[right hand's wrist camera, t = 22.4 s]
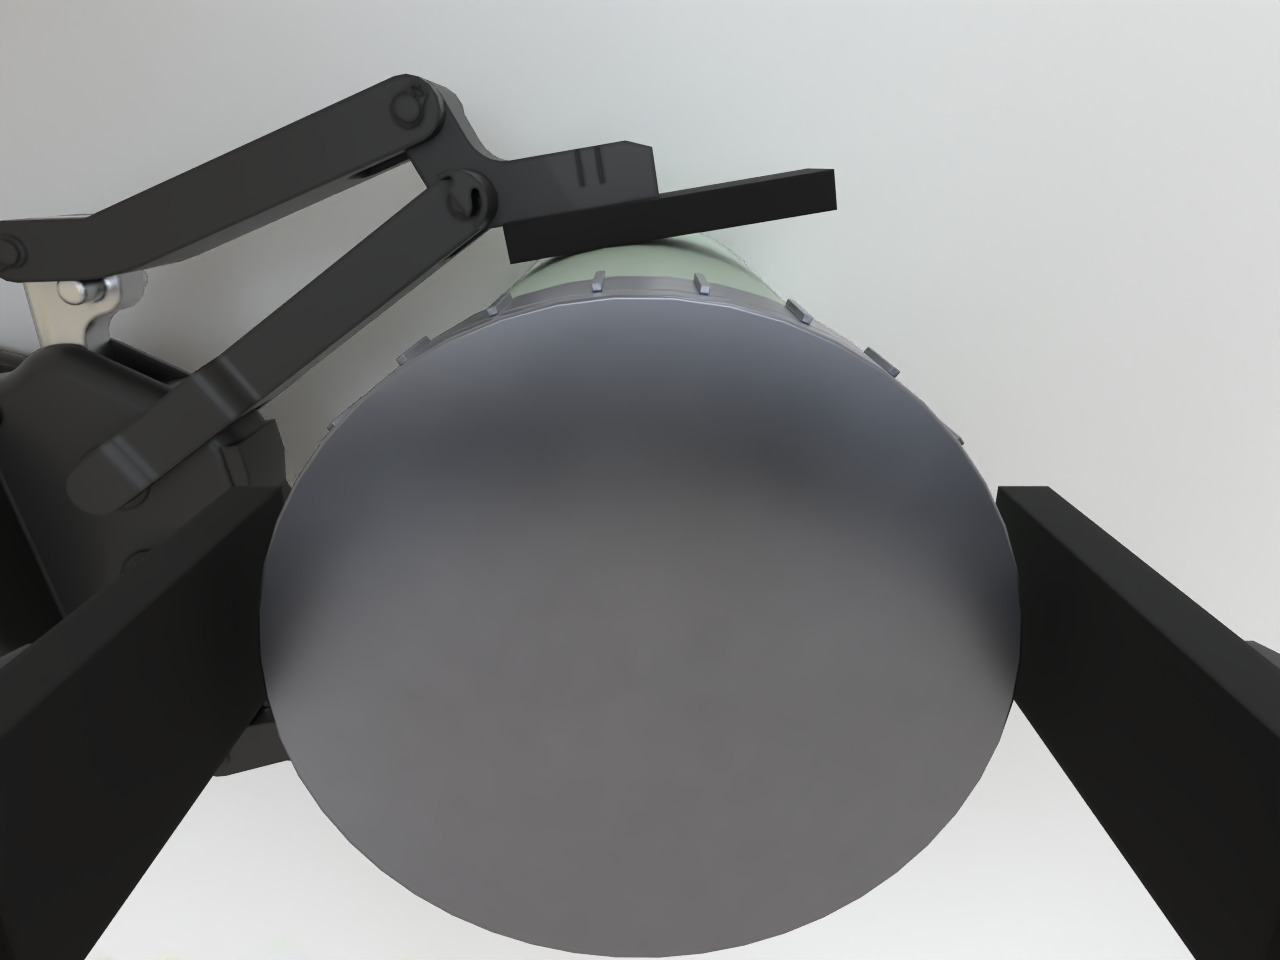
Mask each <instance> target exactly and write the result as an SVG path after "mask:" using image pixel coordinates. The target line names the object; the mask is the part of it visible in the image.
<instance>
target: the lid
mask: <svg viewBox="0 0 1280 960" xmlns="http://www.w3.org/2000/svg"><path fill="white" fill-rule="evenodd" d="M396 361H397V362H398V363H399V364H400V366H399V367H398V368H397V369H395V370H394V371H393V372H392V373H391V374H389V375H388V376H387V377H386V378H385V379H383V380H382V381H381V382H380V383H379V384H377V385H376V386H375V387H374V388H373V389H371V390H370V391H369V392H368V393H367V394H366V395H364V396H363V397H361V398H360V399H358V400H357V401H356V402H355V403H354V404H352V405H351V406H350V407H349V408H348V409H346V410H345V411H344V412H343V413H342V414H340V415H339V416H338V417H337V418H336V419H334V420H333V421H332V422H331V423H330V424H329V426H328V427H327V429H328V430H329V431H330V432H329V433H328V434H327V435H326V436H325V437H324V439H323V440H322V442H321V443H320V445H319V446H318V448H317V449H316V451H315V452H314V454H313V455H312V457H311V458H310V460H309V461H308V463H307V464H306V466H305V467H304V468H303V470H302V471H301V473H300V474H299V476H298V477H297V479H296V481H295V483H294V485H293V488H292V490H291V492H290V494H289V496H288V498H287V500H286V501H285V504H284V507H283V509H282V511H281V513H280V515H279V517H278V519H277V522H276V525H275V528H274V532H273V535H272V539H271V542H270V545H269V549H268V552H267V555H266V559H265V562H264V566H263V574H262V581H261V589H260V596H259V604H258V644H259V659H260V665H261V671H262V676H263V682H264V688H265V693H266V698H267V701H268V704H269V707H270V710H271V713H272V716H273V719H274V722H275V725H276V728H277V731H278V735H279V738H280V740H281V742H282V744H283V746H284V748H285V750H286V752H287V754H288V756H289V758H290V760H291V762H292V764H293V766H294V768H295V770H296V772H297V774H298V776H299V777H300V779H301V780H302V782H303V783H304V785H305V786H306V788H307V789H308V791H309V792H310V794H311V795H312V797H313V798H314V800H315V801H316V803H317V804H318V806H319V807H320V809H321V810H322V811H323V812H324V814H325V815H326V816H327V817H328V818H329V819H330V820H331V822H332V823H333V824H334V825H335V826H336V827H337V828H338V830H339V831H340V832H341V833H342V834H343V835H344V836H345V838H346V839H347V840H348V841H349V842H350V843H351V844H352V845H353V846H354V847H356V848H357V849H358V850H359V851H360V852H361V853H362V854H363V855H364V856H366V857H367V858H368V859H369V860H370V861H371V862H372V863H373V864H374V865H376V866H377V867H378V868H379V869H380V870H381V871H383V872H384V873H385V874H387V875H388V876H390V877H391V878H393V879H394V880H395V881H397V882H398V883H400V884H401V885H402V886H404V887H405V888H407V889H408V890H409V891H411V892H412V893H414V894H415V895H417V896H419V897H420V898H422V899H424V900H426V901H428V902H429V903H431V904H433V905H435V906H437V907H438V908H440V909H442V910H444V911H446V912H447V913H449V914H451V915H453V916H455V917H458V918H460V919H462V920H465V921H467V922H470V923H472V924H474V925H477V926H479V927H481V928H484V929H486V930H488V931H491V932H494V933H497V934H500V935H503V936H507V937H510V938H513V939H516V940H520V941H523V942H526V943H529V944H533V945H538V946H543V947H548V948H553V949H557V950H562V951H567V952H572V953H580V954H590V955H600V956H610V957H670V956H680V955H691V954H702V953H707V952H712V951H718V950H723V949H728V948H733V947H739V946H744V945H747V944H751V943H754V942H757V941H761V940H764V939H767V938H771V937H774V936H777V935H781V934H784V933H787V932H789V931H792V930H794V929H797V928H799V927H801V926H804V925H806V924H809V923H811V922H814V921H816V920H818V919H821V918H823V917H825V916H827V915H829V914H831V913H833V912H835V911H836V910H838V909H840V908H842V907H844V906H846V905H847V904H849V903H851V902H853V901H855V900H857V899H859V898H860V897H862V896H864V895H865V894H866V893H868V892H869V891H871V890H872V889H874V888H875V887H877V886H878V885H879V884H881V883H882V882H884V881H885V880H887V879H888V878H890V877H891V876H892V875H894V874H895V873H897V872H898V871H899V870H900V869H901V868H902V867H904V866H905V865H906V864H907V863H908V862H909V861H910V860H912V859H913V858H914V857H915V856H916V855H917V854H918V853H919V852H921V851H922V850H923V849H924V848H925V847H926V846H927V845H928V844H929V843H930V842H931V841H932V840H933V839H934V838H935V837H936V836H937V834H938V833H939V832H940V831H941V830H942V829H943V828H944V827H945V826H946V824H947V823H948V822H949V821H950V820H951V819H952V818H953V817H954V816H955V814H956V813H957V812H958V810H959V809H960V807H961V806H962V804H963V803H964V802H965V800H966V799H967V797H968V796H969V794H970V793H971V791H972V790H973V789H974V787H975V786H976V784H977V783H978V781H979V780H980V778H981V776H982V774H983V772H984V770H985V768H986V766H987V765H988V763H989V761H990V759H991V757H992V755H993V753H994V751H995V749H996V747H997V745H998V743H999V741H1000V738H1001V735H1002V732H1003V729H1004V726H1005V724H1006V721H1007V718H1008V715H1009V712H1010V709H1011V706H1012V703H1013V700H1014V694H1015V689H1016V684H1017V679H1018V673H1019V668H1020V663H1021V651H1022V625H1023V611H1022V602H1021V594H1020V585H1019V577H1018V569H1017V565H1016V562H1015V558H1014V555H1013V551H1012V547H1011V544H1010V540H1009V537H1008V533H1007V529H1006V526H1005V524H1004V521H1003V519H1002V517H1001V515H1000V513H999V510H998V508H997V506H996V504H995V502H994V499H993V497H992V495H991V493H990V491H989V488H988V486H987V484H986V482H985V480H984V479H983V477H982V476H981V474H980V473H979V471H978V470H977V468H976V467H975V465H974V464H973V462H972V461H971V459H970V457H969V456H968V454H967V453H966V451H965V450H964V448H963V447H962V445H963V444H964V442H963V440H962V439H961V438H960V437H959V436H958V435H957V434H956V433H955V432H954V431H952V430H951V429H950V428H949V427H948V426H947V425H945V424H944V423H943V422H942V421H941V420H939V419H938V417H937V416H936V415H935V414H934V413H933V412H932V411H931V410H930V409H929V407H928V406H927V405H926V404H925V403H924V402H923V401H922V400H920V399H919V398H918V397H917V396H916V395H914V394H913V393H912V392H911V391H910V390H908V389H907V388H906V387H905V386H904V385H902V384H901V383H900V382H899V381H898V380H896V379H895V377H896V376H897V375H898V374H899V373H900V371H899V370H897V369H896V368H895V367H894V366H892V365H891V364H890V363H889V362H887V361H886V360H885V359H884V358H882V357H881V356H880V355H879V354H877V353H876V352H875V351H874V350H872V349H871V348H870V347H868V348H867V349H866V350H865V351H864V352H863V351H862V350H860V349H859V348H858V347H857V346H856V345H854V344H853V343H852V342H851V341H849V340H848V339H846V338H844V337H843V336H841V335H839V334H838V333H836V332H835V331H833V330H831V329H830V328H828V327H826V326H825V325H823V324H821V323H820V322H818V321H817V320H815V319H813V317H812V316H811V315H810V314H809V313H807V312H806V311H805V310H804V309H803V308H802V307H801V306H799V305H798V304H797V303H796V302H795V301H792V300H790V299H788V300H787V302H786V304H785V305H783V304H780V303H778V302H776V301H773V300H771V299H769V298H767V297H764V296H760V295H757V294H753V293H750V292H746V291H743V290H739V289H735V288H732V287H728V286H725V285H721V284H718V283H711V282H707V280H706V278H705V276H704V275H703V274H700V273H695V274H694V280H690V279H683V278H675V277H668V276H614V277H606V274H605V271H597V272H596V274H595V276H594V279H591V280H583V281H575V282H568V283H564V284H560V285H556V286H553V287H549V288H545V289H541V290H538V291H534V292H530V293H526V294H523V295H519V296H517V297H514V298H512V296H511V293H510V292H508V293H505V294H502V295H501V296H500V297H499V298H498V299H497V300H496V301H495V302H494V303H493V304H492V305H491V306H490V307H489V308H488V309H486V310H484V311H481V312H479V313H476V314H474V315H473V316H471V317H469V318H468V319H466V320H464V321H462V322H461V323H459V324H457V325H456V326H454V327H452V328H451V329H449V330H447V331H446V332H444V333H442V334H441V335H439V336H437V337H436V338H434V339H433V340H431V341H430V340H429V338H428V337H427V336H425V337H424V338H422V339H421V340H420V341H418V342H417V343H416V344H415V345H413V346H412V347H411V348H410V349H408V350H407V351H406V352H405V353H403V354H402V355H401V356H400V357H398V358H397V359H396Z"/></svg>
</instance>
